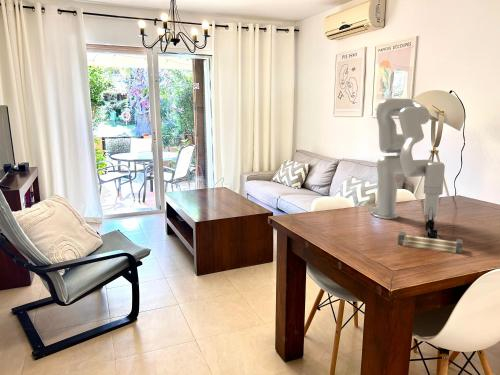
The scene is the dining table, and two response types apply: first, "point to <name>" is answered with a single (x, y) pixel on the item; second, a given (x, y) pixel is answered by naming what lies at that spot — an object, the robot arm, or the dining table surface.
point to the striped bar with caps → (430, 243)
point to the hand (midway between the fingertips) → (429, 230)
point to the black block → (432, 233)
